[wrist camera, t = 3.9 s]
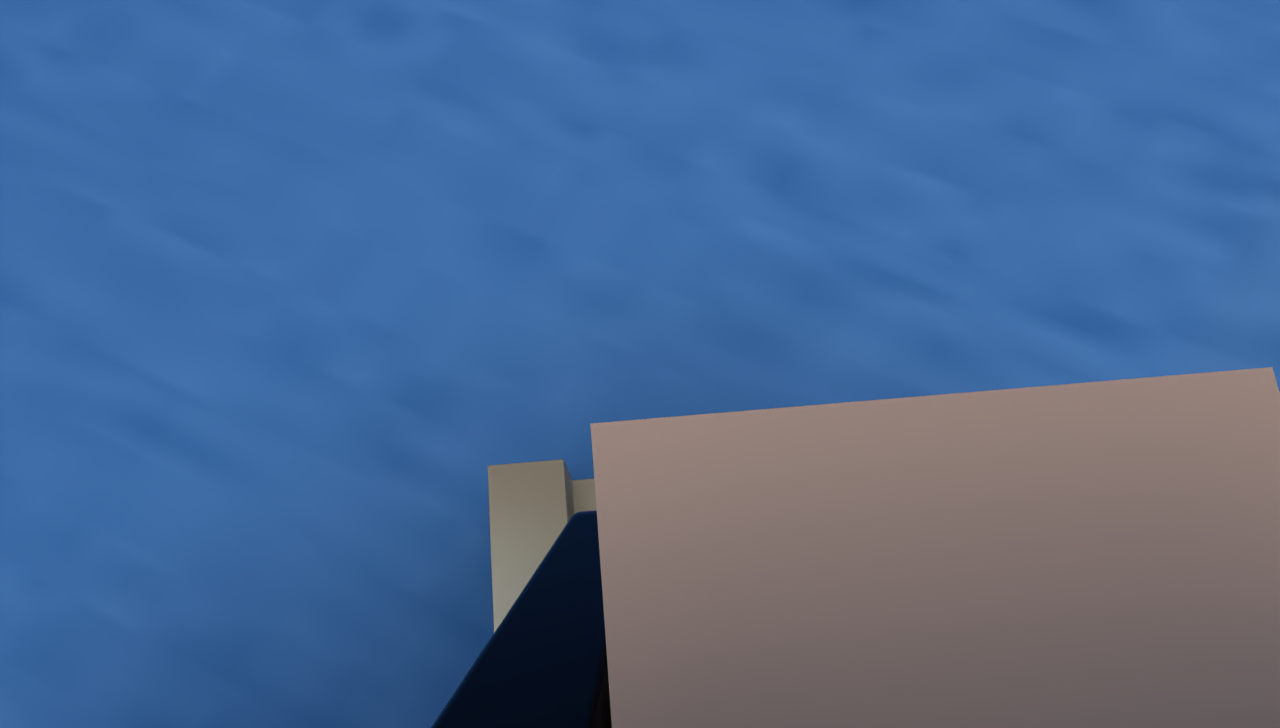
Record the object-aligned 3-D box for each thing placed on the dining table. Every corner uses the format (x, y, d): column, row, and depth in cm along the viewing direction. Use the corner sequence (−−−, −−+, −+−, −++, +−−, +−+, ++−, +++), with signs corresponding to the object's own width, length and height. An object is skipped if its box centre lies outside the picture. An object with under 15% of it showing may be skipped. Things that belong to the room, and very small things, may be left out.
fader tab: (871, 869, 13) (1807, 1758, 2) (628, 892, 13) (555, 1908, 2) (819, 492, 14) (1275, 63, 4) (601, 510, 14) (481, 125, 4)
